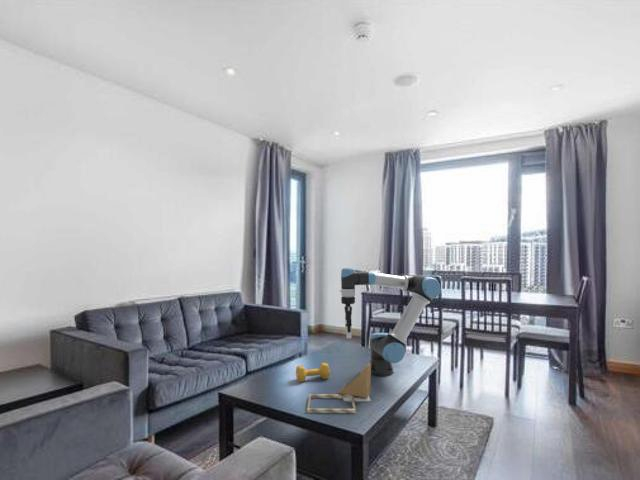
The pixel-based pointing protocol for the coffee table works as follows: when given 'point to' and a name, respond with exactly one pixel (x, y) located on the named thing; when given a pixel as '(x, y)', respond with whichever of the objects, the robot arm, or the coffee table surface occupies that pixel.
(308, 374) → the dumbbell
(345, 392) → the sandwich container
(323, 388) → the coffee table surface
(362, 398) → the grey pad
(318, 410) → the birch frame
